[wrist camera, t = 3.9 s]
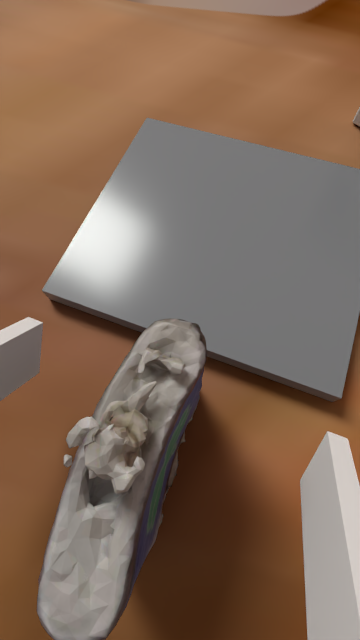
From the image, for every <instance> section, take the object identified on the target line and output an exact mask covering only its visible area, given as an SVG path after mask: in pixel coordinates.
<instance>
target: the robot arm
mask: <svg viewBox="0 0 360 640" xmlns="http://www.w3.org/2000/svg"><path fill="white" fill-rule="evenodd" d="M42 328H43V322H40V321H37V320H35V319H32V318H30V317H27V318H25V319H23V320H21V321H19V322H17V323H15V324H13V325H11V326H9V327H7V328H5V329H2V330H0V401H1V400H2V399H4V398H5V397H6V396H8V395H9V394H10V393H12V392H13V391H15V390H16V389H17V388H19V387H20V386H22V385H23V384H24V383H26V382H27V381H28V380H30V379H31V378H33V377H34V376H35V375H37V374H38V373H39V369H40V355H41V341H42ZM300 487H301V508H302V530H303V551H304V572H305V593H306V615H307V636H308V640H360V486H359V482H358V478H357V474H356V470H355V466H354V462H353V458H352V454H351V450H350V446H349V442H348V439H347V438H344V437H342V436H339V435H337V434H334V433H331V432H329V431H327V433H326V435H325V436H324V438H323V440H322V442H321V444H320V445H319V447H318V449H317V451H316V453H315V454H314V456H313V458H312V460H311V462H310V463H309V465H308V467H307V469H306V471H305V472H304V474H303V476H302V478H301V480H300Z"/></svg>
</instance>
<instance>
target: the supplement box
mask: <svg viewBox="0 0 360 640" xmlns="http://www.w3.org/2000/svg"><path fill="white" fill-rule="evenodd" d="M353 123H354V124H356V125H358V126H360V108H359V110H358V112H357V114H356V116H355V118H354V120H353Z"/></svg>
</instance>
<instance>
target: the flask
mask: <svg viewBox="0 0 360 640" xmlns="http://www.w3.org/2000/svg"><path fill="white" fill-rule="evenodd" d="M206 356H207V348H206V340H205V337H204V335H203V333H202V332H201V329H200V327H199V325H198V324H196V323H191V322H188V321H185V320H181V319H172V318H169V319H162V320H157V321H155V322H154V323H152V324H151V325H150V326H149V327H148V328H147V329H145V330H144V331H143V332H142V334H141V335H140V336H139V338H138V339H137V340H136V342H135V343H134V345H133V347H132V349H131V350H130V352H129V353H128V355H127V356H126V357H125V359H124V361H123V362H122V364H121V366H120V367H119V369H118V371H117V372H116V374H115V376H114V377H113V379H112V380H111V382H110V383H109V385H108V386H107V388H106V389H105V392H104V394H103V396H102V397H101V399H100V401H99V402H98V404H97V406H96V409H95V411H94V414H93V416H92V417H85V418H83V419H81V420H80V421H79V422H78V423H77V424H76V425H75V426H74V427H73V429H72V430H71V431H70V432H69V433H68V436H67V439H66V441H67V444H68V446H69V448H72V447H75V446H78V445H79V448H78V450H77V452H76V455H75V458H74V461H73V463H72V456H70V455H67V454H66V455H65V456H64V466H66V467H67V468H68V467H69V466H70V465H71V467H70V470H69V473H68V478H67V481H66V484H65V487H64V490H63V493H62V496H61V500H60V503H59V506H58V509H57V513H56V517H55V521H54V524H53V526H52V529H51V532H50V536H49V539H48V543H47V547H46V551H45V555H44V561H43V566H42V569H41V573H40V576H39V590H38V598H37V613H38V616H39V619H40V621H41V624H42V626H43V628H44V629H45V630H46V632H47V633H48V634H49V635H50V636H51V637H52V638H53V639H54V640H105V639H106V638H107V637H108V635H109V634H110V633H111V631H112V630H113V628H114V627H115V626H116V624H117V622H118V620H119V619H120V617H121V615H122V613H123V611H124V610H125V608H126V606H127V603H128V600H129V598H130V596H131V593H132V589H133V586H134V583H135V581H136V579H137V576H138V574H139V572H140V569H141V567H142V565H143V563H144V561H145V558H146V556H147V555H148V553H149V551H150V549H151V548H152V546H153V544H154V543H155V541H156V537H157V533H158V528H159V526H160V524H161V523H162V518H163V514H162V505H163V503H164V500H165V498H166V493H167V492H168V489H169V487H171V486H172V483H173V479H174V477H175V476H176V475H177V474H176V470H177V467H178V461H179V460H177V458H178V451H177V450H178V448H179V446H180V444H181V443H182V442H186V441H185V439H184V438H185V429H186V426H187V424H188V423H189V422H190V420H193V419H192V416H193V414H194V412H195V410H196V408H197V404H198V401H199V398H200V395H199V392H200V390H201V387H202V375H203V371H204V365H205V362H206Z"/></svg>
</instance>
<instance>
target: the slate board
mask: <svg viewBox="0 0 360 640" xmlns="http://www.w3.org/2000/svg"><path fill="white" fill-rule="evenodd" d="M42 291H43V292H44V293H45V294H46V296H47V297H48V298H49V299H51V300H53V301H56V302H59V303H62V304H64V305H67V306H70V307H73V308H75V309H78V310H81V311H84V312H86V313H89V314H92V315H95V316H97V317H100V318H103V319H106V320H108V321H111V322H114V323H117V324H119V325H122V326H125V327H128V328H130V329H133V330H136V331H139V332H141V333H142V332H143V331H144V330H145V329H147V328H148V327H149V326H150V325H151V324H152V323H154V322H155V321H157V320H162V319H169V318H172V319H181V320H185V321H188V322H191V323H196V324H198V325H199V327H200V329H201V332H202V333H203V335H204V337H205V340H206V348H207V357H210V358H213V359H216V360H218V361H221V362H224V363H227V364H229V365H232V366H235V367H238V368H240V369H243V370H246V371H249V372H251V373H254V374H257V375H260V376H262V377H265V378H268V379H271V380H273V381H276V382H279V383H282V384H284V385H287V386H290V387H293V388H295V389H298V390H301V391H303V392H306V393H309V394H312V395H314V396H317V397H320V398H323V399H325V400H328V401H331V402H334V401H336V400H339V399H341V398H342V393H343V389H344V384H345V379H346V374H347V370H348V365H349V360H350V356H351V351H352V346H353V341H354V337H355V332H356V327H357V322H358V318H359V313H360V169H357V168H353V167H349V166H345V165H340V164H336V163H332V162H328V161H324V160H320V159H316V158H311V157H307V156H303V155H299V154H295V153H291V152H287V151H282V150H278V149H274V148H270V147H266V146H262V145H258V144H253V143H249V142H245V141H241V140H237V139H233V138H229V137H225V136H220V135H216V134H212V133H208V132H204V131H200V130H196V129H191V128H187V127H183V126H179V125H175V124H171V123H167V122H162V121H158V120H154V119H150V118H146V120H145V122H144V123H143V125H142V127H141V128H140V130H139V132H138V133H137V135H136V137H135V138H134V140H133V141H132V143H131V145H130V146H129V148H128V150H127V151H126V153H125V155H124V156H123V158H122V160H121V161H120V163H119V164H118V166H117V168H116V169H115V171H114V173H113V174H112V176H111V178H110V179H109V181H108V183H107V184H106V186H105V188H104V189H103V191H102V192H101V194H100V196H99V197H98V199H97V201H96V202H95V204H94V206H93V207H92V209H91V211H90V212H89V214H88V215H87V217H86V219H85V220H84V222H83V224H82V225H81V227H80V229H79V230H78V232H77V234H76V235H75V237H74V238H73V240H72V242H71V243H70V245H69V247H68V248H67V250H66V252H65V253H64V255H63V257H62V258H61V260H60V261H59V263H58V265H57V266H56V268H55V270H54V271H53V273H52V275H51V276H50V278H49V280H48V281H47V283H46V285H45V286H44V288H43V289H42Z"/></svg>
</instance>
